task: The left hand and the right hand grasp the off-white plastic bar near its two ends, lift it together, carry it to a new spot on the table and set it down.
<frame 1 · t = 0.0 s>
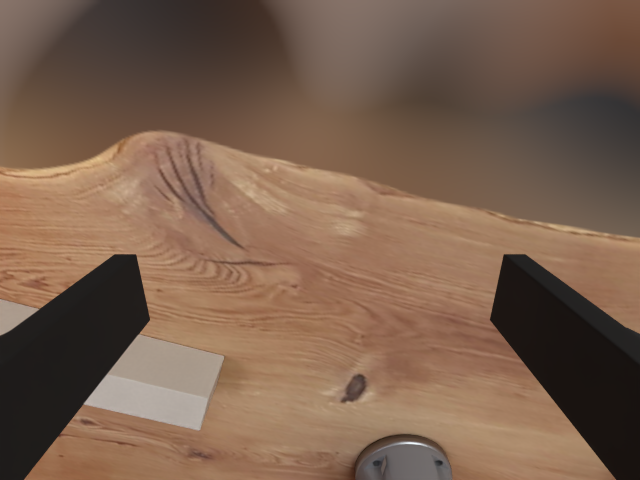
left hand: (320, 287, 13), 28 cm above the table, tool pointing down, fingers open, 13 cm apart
bar: (9, 318, 46), on the table
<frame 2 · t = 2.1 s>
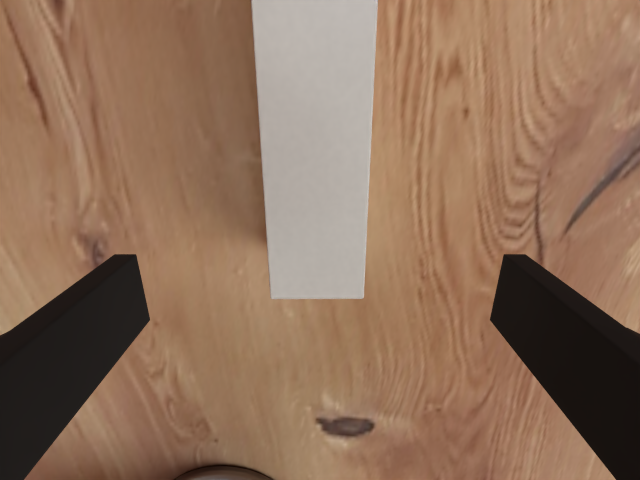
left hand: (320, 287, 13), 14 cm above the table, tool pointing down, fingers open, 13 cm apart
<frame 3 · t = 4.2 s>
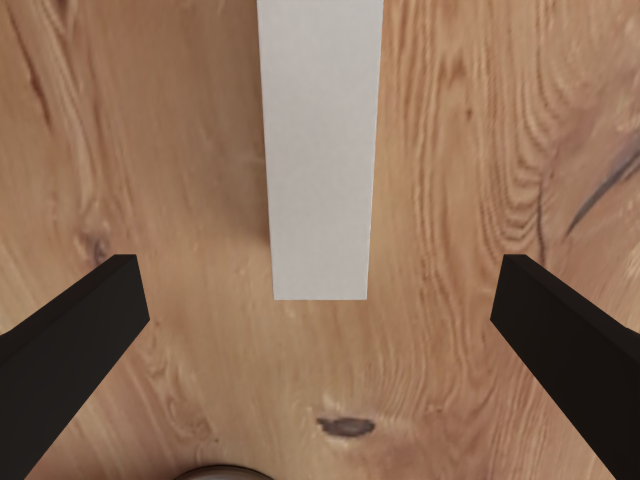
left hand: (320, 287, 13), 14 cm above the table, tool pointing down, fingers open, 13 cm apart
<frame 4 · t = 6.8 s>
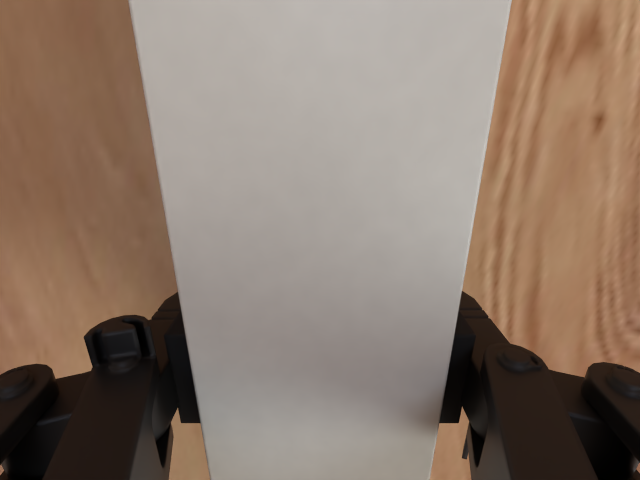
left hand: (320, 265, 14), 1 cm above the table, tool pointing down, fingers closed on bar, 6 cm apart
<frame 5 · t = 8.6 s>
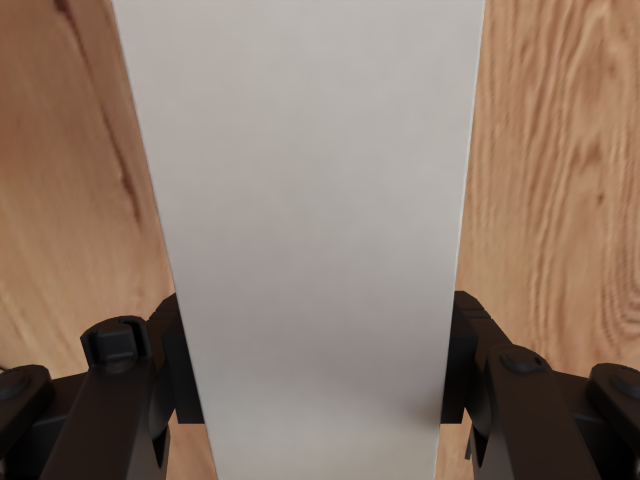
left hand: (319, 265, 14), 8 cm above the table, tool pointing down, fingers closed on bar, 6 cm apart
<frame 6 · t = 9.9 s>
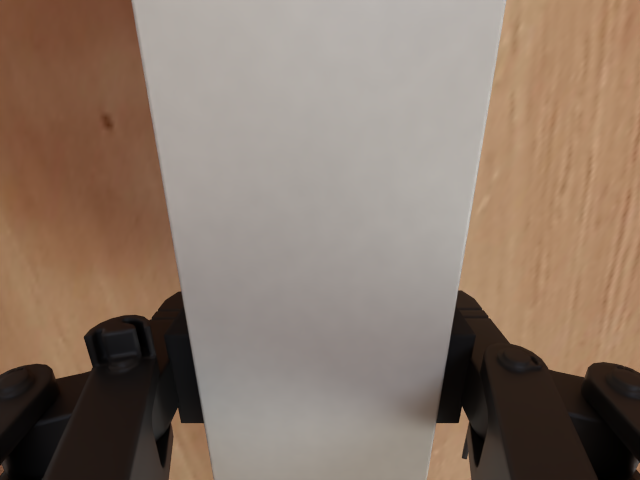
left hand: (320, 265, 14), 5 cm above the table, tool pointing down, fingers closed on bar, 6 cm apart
when the left hand's fingers open (2 cm above the table, at t = 10.5 s): bar stays where it is, held by the right hand.
when the right hand's fingers open (4 cm above the table, at t = 10.9 s): bar stays where it is, on the table.
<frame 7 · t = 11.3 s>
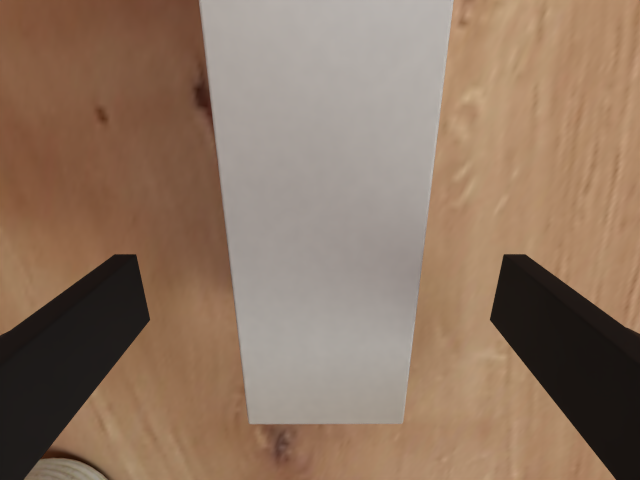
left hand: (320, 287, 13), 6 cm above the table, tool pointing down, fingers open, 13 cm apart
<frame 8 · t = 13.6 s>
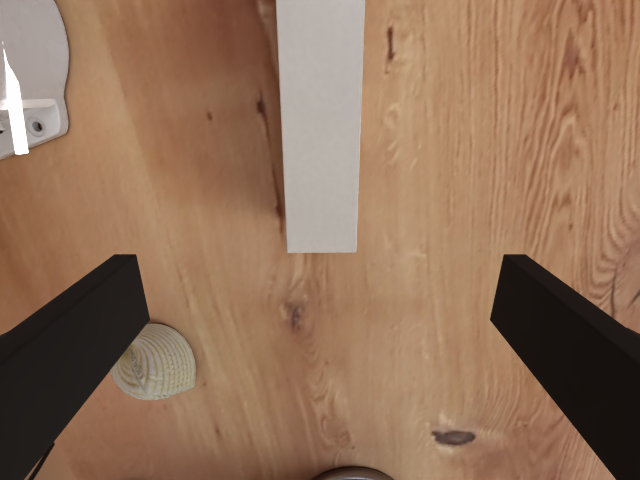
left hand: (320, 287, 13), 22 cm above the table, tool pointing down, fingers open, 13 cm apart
seashell: (160, 351, 41), on the table
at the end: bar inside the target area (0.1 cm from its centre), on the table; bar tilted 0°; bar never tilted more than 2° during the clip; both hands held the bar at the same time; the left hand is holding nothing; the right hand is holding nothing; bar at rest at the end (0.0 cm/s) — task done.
